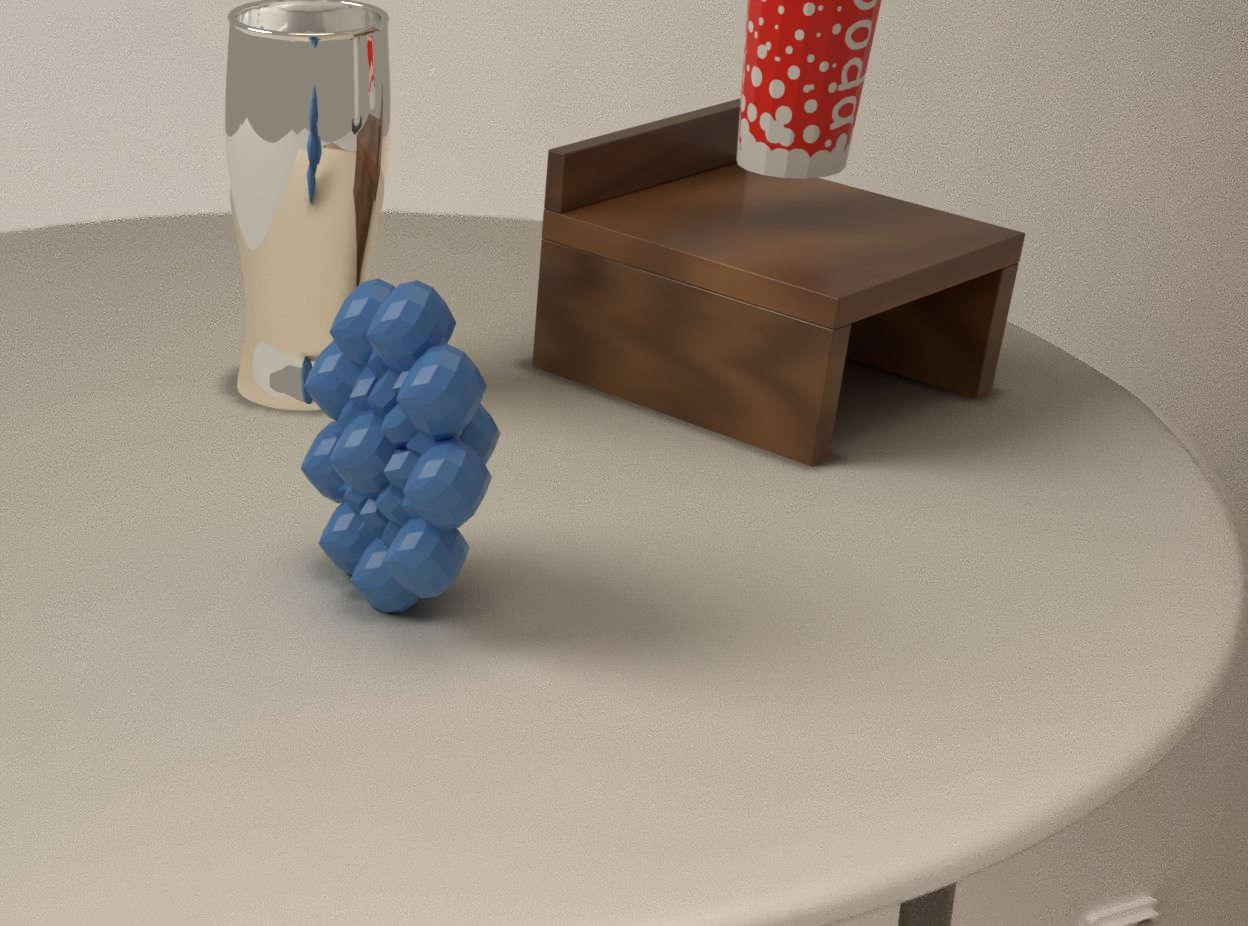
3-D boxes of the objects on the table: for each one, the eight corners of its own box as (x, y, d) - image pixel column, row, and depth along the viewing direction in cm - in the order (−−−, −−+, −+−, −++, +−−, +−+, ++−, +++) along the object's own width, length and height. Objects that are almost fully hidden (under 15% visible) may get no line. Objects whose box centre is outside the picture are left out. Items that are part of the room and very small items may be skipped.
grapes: (564, 655, 78) (597, 307, 71) (395, 688, 76) (409, 334, 68) (423, 533, 86) (438, 208, 78) (266, 560, 84) (265, 230, 76)
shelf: (990, 399, 98) (1039, 171, 91) (810, 473, 91) (849, 234, 85) (713, 310, 107) (740, 97, 100) (530, 372, 100) (547, 149, 94)
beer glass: (245, 360, 101) (243, -9, 91) (393, 371, 100) (407, 0, 90) (211, 413, 96) (204, 29, 86) (367, 426, 95) (378, 39, 85)
